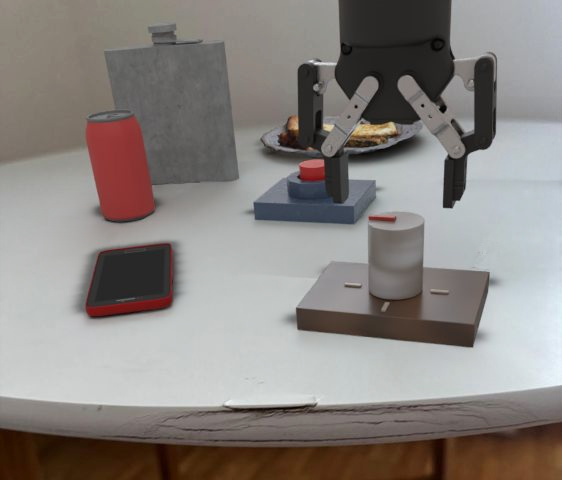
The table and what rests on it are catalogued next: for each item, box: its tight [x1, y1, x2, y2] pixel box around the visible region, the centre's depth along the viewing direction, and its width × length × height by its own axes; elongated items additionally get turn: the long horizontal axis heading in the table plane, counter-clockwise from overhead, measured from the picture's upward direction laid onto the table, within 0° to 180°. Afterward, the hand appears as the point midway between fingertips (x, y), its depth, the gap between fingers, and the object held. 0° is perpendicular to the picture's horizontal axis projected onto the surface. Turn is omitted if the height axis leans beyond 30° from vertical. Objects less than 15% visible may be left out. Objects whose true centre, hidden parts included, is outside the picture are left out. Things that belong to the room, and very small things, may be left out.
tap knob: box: [367, 211, 426, 300], centre depth 56 cm, size 4×4×6 cm
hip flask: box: [103, 22, 240, 186], centre depth 93 cm, size 16×4×20 cm, turn 83°
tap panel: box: [295, 260, 491, 349], centre depth 58 cm, size 14×10×2 cm
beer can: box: [85, 109, 156, 223], centre depth 84 cm, size 7×7×12 cm
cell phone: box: [84, 242, 174, 317], centre depth 67 cm, size 8×15×1 cm, turn 8°
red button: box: [298, 158, 325, 181], centre depth 81 cm, size 4×4×2 cm
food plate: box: [259, 114, 425, 160], centre depth 108 cm, size 25×23×4 cm
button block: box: [252, 170, 377, 225], centre depth 82 cm, size 12×10×4 cm
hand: (394, 203), depth 54 cm, fingers open, 8 cm apart
